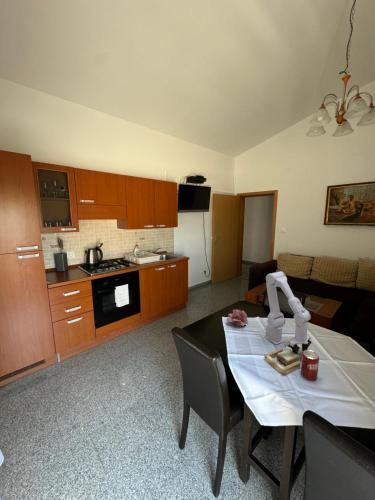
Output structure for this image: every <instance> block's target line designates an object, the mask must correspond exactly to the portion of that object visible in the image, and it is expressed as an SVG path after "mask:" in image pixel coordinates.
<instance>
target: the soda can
mask: <svg viewBox="0 0 375 500" xmlns="http://www.w3.org/2000/svg"><path fill="white" fill-rule="evenodd" d="M300 363H301V364H300V373H301V376H302V377H303V378H304V379H306V380H308V381H316V380H317V379H318V377H319V376H318V375H319V366H320V365H319V364H320V356H319V354H318V353H317V352H316V351H314V350H310V349H307V350H305V351H302V352H301V362H300Z"/></svg>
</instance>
